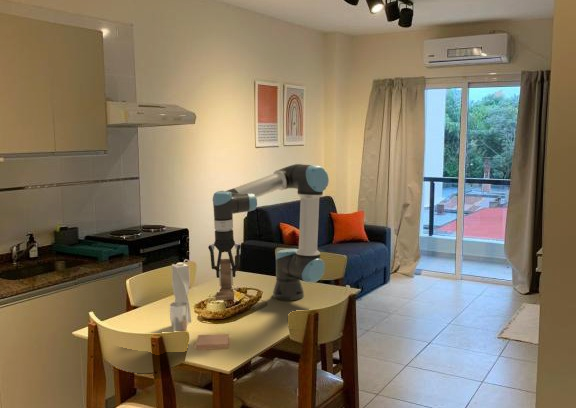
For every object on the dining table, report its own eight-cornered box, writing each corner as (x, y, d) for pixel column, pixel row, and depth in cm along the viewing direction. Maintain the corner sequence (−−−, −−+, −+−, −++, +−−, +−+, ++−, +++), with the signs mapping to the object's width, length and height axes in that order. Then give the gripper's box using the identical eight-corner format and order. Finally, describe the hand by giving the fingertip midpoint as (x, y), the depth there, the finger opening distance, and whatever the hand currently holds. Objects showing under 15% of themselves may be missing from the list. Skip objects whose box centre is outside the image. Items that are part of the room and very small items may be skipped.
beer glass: (167, 340, 220) (165, 304, 218) (182, 336, 225) (181, 300, 223) (177, 345, 215) (175, 308, 213) (192, 340, 220) (191, 303, 218)
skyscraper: (195, 321, 242) (192, 257, 237) (188, 327, 234) (185, 262, 230) (178, 320, 243) (175, 257, 239) (171, 326, 236) (168, 261, 232)
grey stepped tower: (218, 287, 235) (217, 259, 233) (235, 286, 235) (233, 258, 233) (215, 300, 219) (214, 269, 217) (233, 299, 219) (232, 268, 217)
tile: (228, 333, 222) (227, 343, 212) (228, 339, 222) (227, 349, 212) (198, 335, 221) (195, 345, 211) (198, 340, 222) (195, 350, 212)
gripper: (202, 232, 225) (205, 288, 228) (244, 230, 226) (246, 286, 229) (203, 228, 232) (206, 283, 236) (245, 227, 233) (247, 281, 237)
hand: (226, 284), depth 233 cm, fingers closed on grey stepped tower, 4 cm apart
